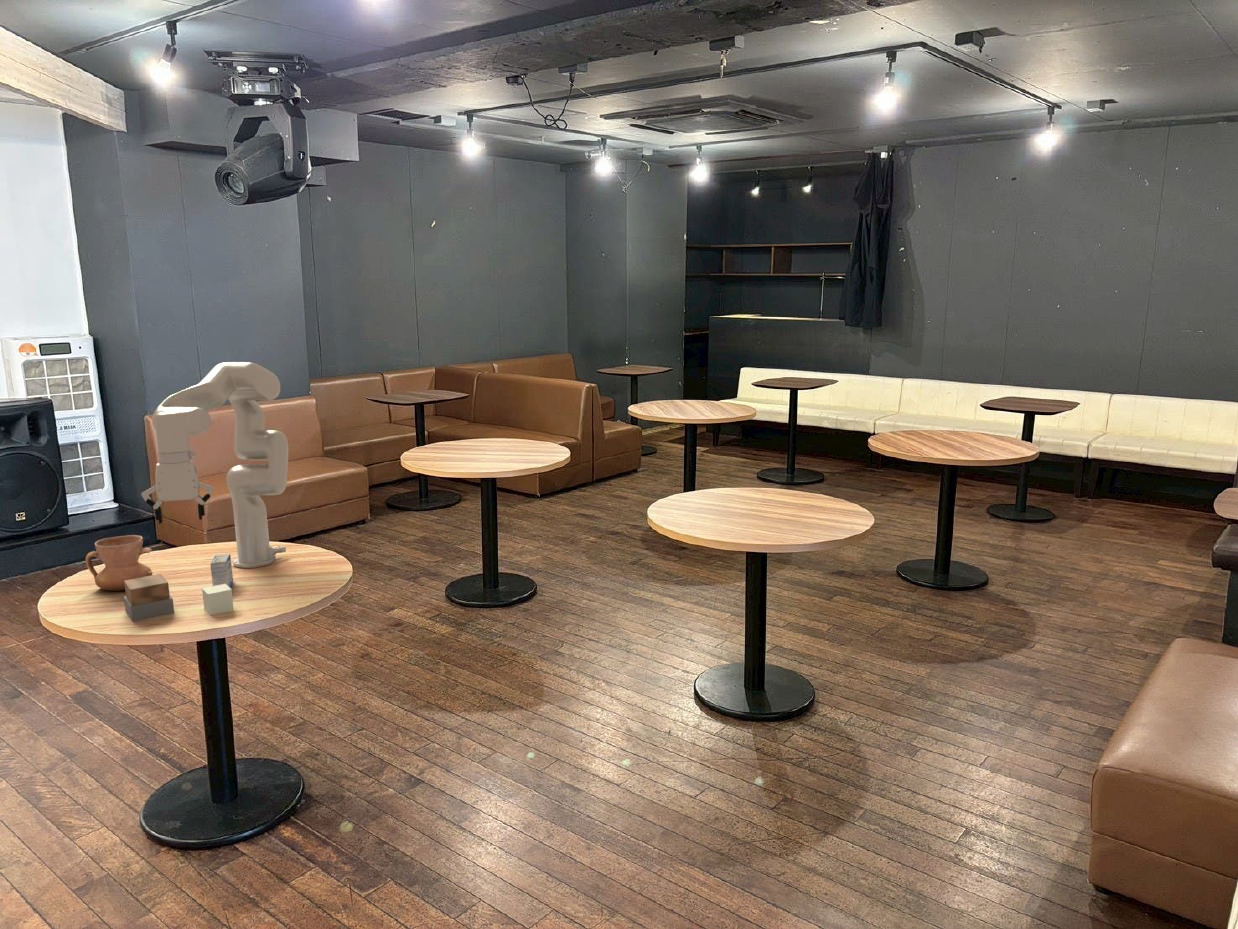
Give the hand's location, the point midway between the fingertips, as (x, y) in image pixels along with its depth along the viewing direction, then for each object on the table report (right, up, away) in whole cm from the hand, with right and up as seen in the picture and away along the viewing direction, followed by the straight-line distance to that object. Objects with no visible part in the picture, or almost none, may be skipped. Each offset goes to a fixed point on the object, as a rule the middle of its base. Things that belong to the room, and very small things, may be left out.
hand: (181, 520), depth 233 cm
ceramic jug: (-28, -21, +21) cm, 41 cm away
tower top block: (-9, -21, 0) cm, 23 cm away
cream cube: (+9, -24, +2) cm, 26 cm away
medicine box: (+2, -21, +21) cm, 29 cm away
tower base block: (-9, -25, +1) cm, 27 cm away
